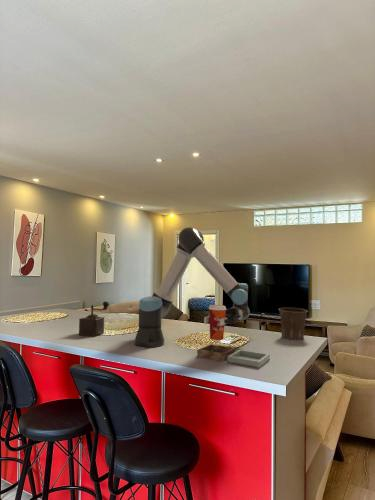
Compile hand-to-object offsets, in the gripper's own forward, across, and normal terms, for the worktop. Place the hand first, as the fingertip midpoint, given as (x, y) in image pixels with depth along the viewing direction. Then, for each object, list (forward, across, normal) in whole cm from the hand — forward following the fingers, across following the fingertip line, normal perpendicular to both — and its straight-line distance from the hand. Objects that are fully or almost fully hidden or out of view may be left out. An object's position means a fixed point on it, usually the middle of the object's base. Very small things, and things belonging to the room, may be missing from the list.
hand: (212, 321), depth 152 cm
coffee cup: (-5, 0, -9) cm, 10 cm away
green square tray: (-5, -16, -16) cm, 23 cm away
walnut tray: (-5, 0, -16) cm, 17 cm away
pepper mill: (-6, +78, -17) cm, 80 cm away
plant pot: (-65, -20, -16) cm, 70 cm away
